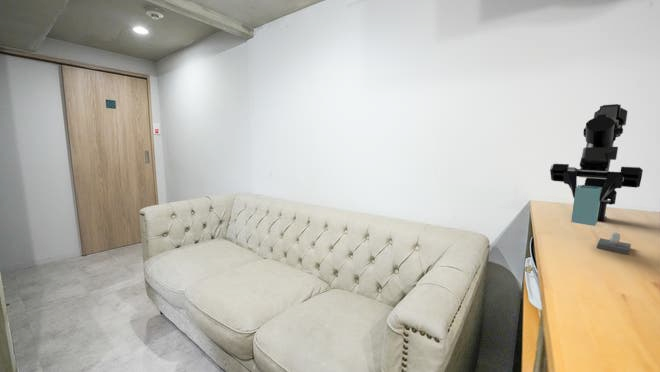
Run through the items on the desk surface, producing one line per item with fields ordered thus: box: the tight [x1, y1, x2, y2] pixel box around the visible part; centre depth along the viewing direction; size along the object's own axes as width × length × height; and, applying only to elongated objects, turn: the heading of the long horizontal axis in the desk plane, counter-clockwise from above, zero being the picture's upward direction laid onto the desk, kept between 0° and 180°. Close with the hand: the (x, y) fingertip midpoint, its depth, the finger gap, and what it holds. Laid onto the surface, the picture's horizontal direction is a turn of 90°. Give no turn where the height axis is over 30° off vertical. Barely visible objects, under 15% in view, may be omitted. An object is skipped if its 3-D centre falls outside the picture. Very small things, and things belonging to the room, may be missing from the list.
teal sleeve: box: [570, 184, 602, 227], centre depth 78 cm, size 5×5×10 cm
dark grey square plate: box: [596, 231, 632, 256], centre depth 75 cm, size 6×6×4 cm
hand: (587, 198), depth 76 cm, fingers closed on teal sleeve, 5 cm apart
